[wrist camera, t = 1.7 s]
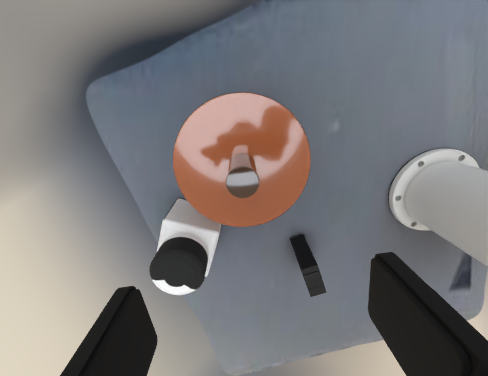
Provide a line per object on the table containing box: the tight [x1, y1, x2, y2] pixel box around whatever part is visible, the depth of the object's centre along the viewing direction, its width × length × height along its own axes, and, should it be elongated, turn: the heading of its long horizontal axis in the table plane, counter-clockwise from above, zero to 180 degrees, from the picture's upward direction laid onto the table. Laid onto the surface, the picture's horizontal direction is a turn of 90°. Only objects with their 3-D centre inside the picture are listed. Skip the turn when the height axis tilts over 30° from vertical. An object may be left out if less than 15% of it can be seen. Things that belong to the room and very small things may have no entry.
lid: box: [173, 92, 311, 227], centre depth 21 cm, size 13×13×6 cm
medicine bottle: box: [150, 199, 221, 295], centre depth 30 cm, size 7×7×12 cm
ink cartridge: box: [290, 235, 326, 297], centre depth 34 cm, size 5×2×8 cm, turn 20°
